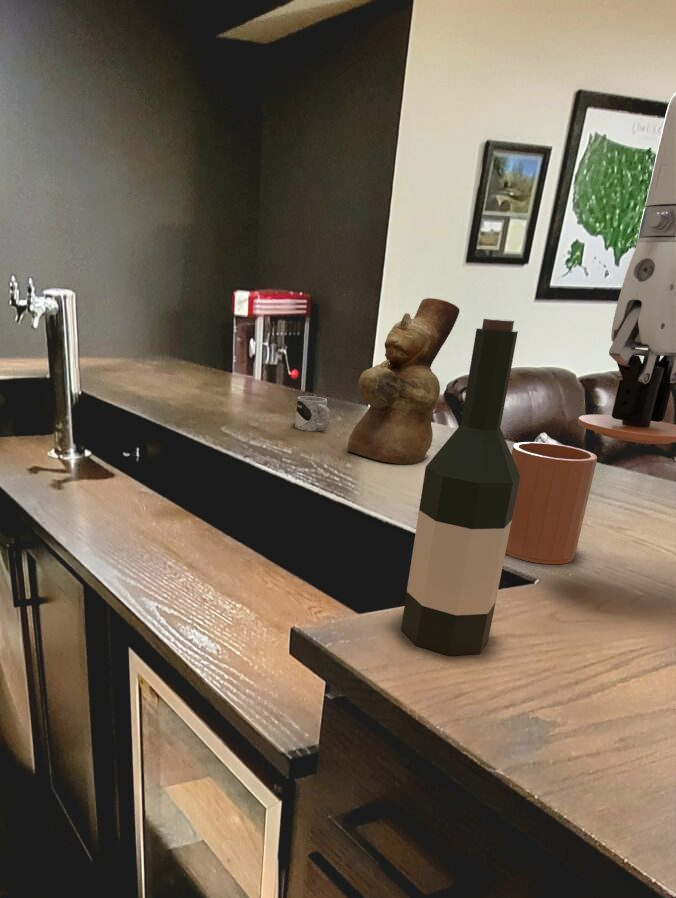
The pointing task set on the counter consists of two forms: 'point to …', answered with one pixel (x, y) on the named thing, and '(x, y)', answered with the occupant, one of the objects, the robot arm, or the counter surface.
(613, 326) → the robot arm
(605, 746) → the counter surface
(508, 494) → the wine bottle
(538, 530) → the cup
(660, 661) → the counter surface
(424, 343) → the ceramic vessel
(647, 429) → the shaker lid
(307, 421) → the mug
